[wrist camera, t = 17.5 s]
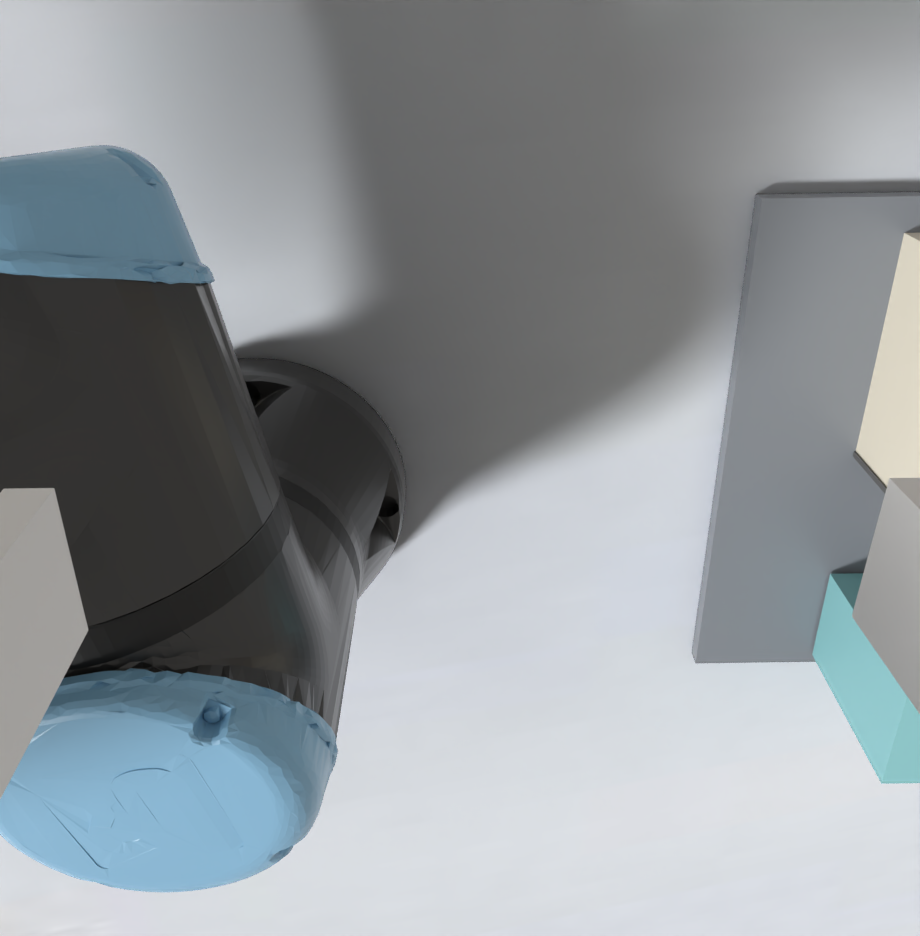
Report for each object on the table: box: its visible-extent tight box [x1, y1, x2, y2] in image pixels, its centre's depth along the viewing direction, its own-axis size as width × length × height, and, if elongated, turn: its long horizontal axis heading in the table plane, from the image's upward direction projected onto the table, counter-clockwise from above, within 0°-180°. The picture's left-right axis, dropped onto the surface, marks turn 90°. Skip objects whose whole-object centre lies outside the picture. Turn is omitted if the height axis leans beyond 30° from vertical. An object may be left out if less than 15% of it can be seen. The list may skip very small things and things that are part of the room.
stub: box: [812, 573, 920, 783], centre depth 48 cm, size 6×4×10 cm, turn 1°
